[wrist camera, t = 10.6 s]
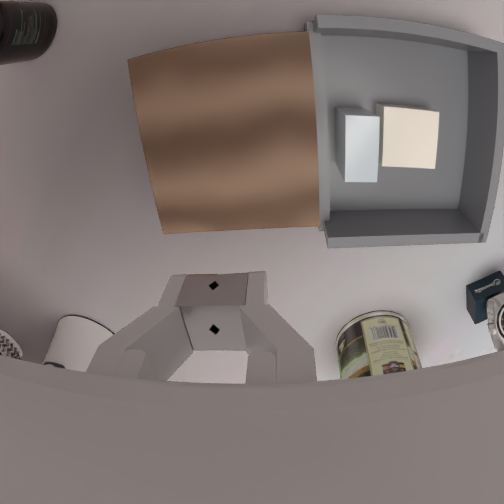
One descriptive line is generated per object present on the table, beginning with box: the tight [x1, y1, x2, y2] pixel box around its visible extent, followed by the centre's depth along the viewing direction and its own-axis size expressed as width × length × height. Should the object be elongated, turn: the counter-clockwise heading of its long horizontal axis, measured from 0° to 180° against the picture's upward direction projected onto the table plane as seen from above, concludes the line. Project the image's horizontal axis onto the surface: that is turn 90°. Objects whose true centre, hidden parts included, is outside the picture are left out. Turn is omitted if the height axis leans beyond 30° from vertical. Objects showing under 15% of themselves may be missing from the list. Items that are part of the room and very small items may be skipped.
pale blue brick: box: [335, 107, 380, 182], centre depth 23 cm, size 5×5×2 cm
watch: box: [466, 271, 504, 351], centre depth 29 cm, size 6×8×11 cm
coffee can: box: [336, 311, 422, 379], centre depth 33 cm, size 10×10×14 cm
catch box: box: [304, 15, 504, 248], centre depth 22 cm, size 18×16×6 cm
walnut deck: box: [128, 32, 320, 234], centre depth 25 cm, size 16×14×4 cm
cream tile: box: [376, 103, 439, 169], centre depth 23 cm, size 5×5×2 cm
